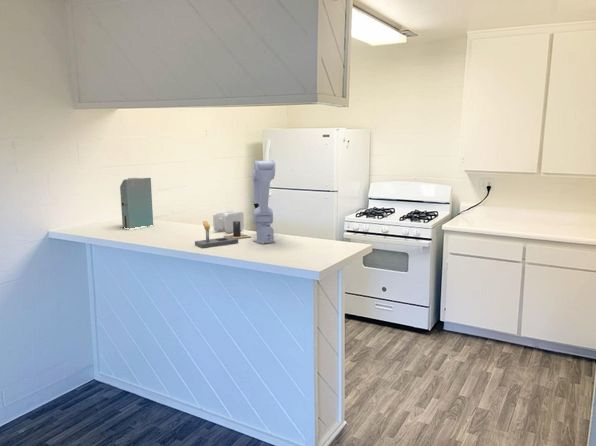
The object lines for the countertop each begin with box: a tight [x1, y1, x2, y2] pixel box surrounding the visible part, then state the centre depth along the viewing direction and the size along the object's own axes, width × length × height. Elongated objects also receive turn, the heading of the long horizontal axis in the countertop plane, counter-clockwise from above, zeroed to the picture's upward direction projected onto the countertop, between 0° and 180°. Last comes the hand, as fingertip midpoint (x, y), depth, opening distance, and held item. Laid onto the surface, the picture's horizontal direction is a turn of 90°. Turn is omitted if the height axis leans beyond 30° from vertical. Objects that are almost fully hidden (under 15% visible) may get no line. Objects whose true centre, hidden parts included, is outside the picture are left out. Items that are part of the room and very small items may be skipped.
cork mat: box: [223, 233, 252, 240], centre depth 268 cm, size 11×11×1 cm
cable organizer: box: [212, 209, 245, 234], centre depth 284 cm, size 15×11×12 cm
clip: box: [202, 220, 211, 230], centre depth 252 cm, size 13×3×2 cm, turn 15°
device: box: [119, 177, 154, 229], centre depth 296 cm, size 16×8×30 cm, turn 141°
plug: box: [232, 221, 242, 237], centre depth 268 cm, size 4×4×8 cm
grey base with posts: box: [194, 229, 239, 249], centre depth 250 cm, size 9×20×8 cm, turn 125°
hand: (259, 217), depth 270 cm, fingers open, 7 cm apart
